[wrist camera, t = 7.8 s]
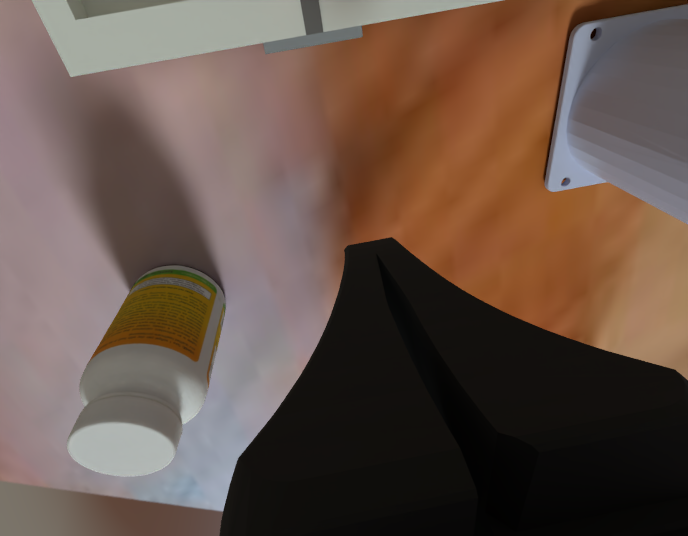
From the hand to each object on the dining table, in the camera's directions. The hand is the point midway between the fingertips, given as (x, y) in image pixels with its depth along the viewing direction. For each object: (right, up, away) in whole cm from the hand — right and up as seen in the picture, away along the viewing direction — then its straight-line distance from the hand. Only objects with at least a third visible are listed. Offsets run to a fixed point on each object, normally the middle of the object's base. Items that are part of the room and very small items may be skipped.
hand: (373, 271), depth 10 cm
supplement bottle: (-11, -2, +13) cm, 17 cm away
